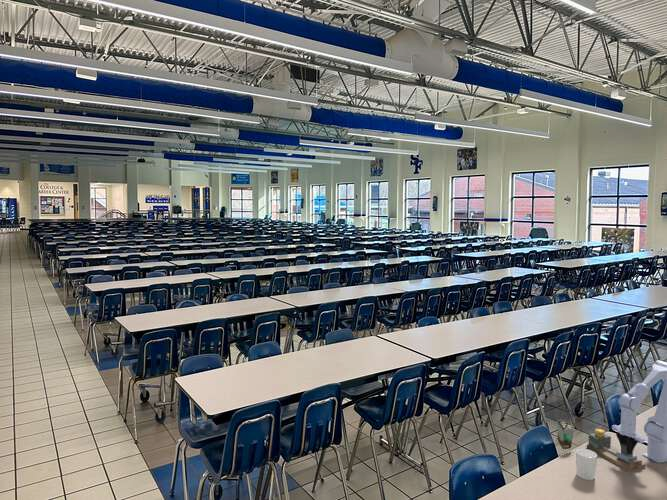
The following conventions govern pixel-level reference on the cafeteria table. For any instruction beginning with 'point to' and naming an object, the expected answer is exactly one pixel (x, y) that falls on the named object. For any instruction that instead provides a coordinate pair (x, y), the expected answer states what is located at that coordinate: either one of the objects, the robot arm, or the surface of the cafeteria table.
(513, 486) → the cafeteria table surface
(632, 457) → the carriage
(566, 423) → the food container
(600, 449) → the rail board
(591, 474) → the white cup
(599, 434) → the button
